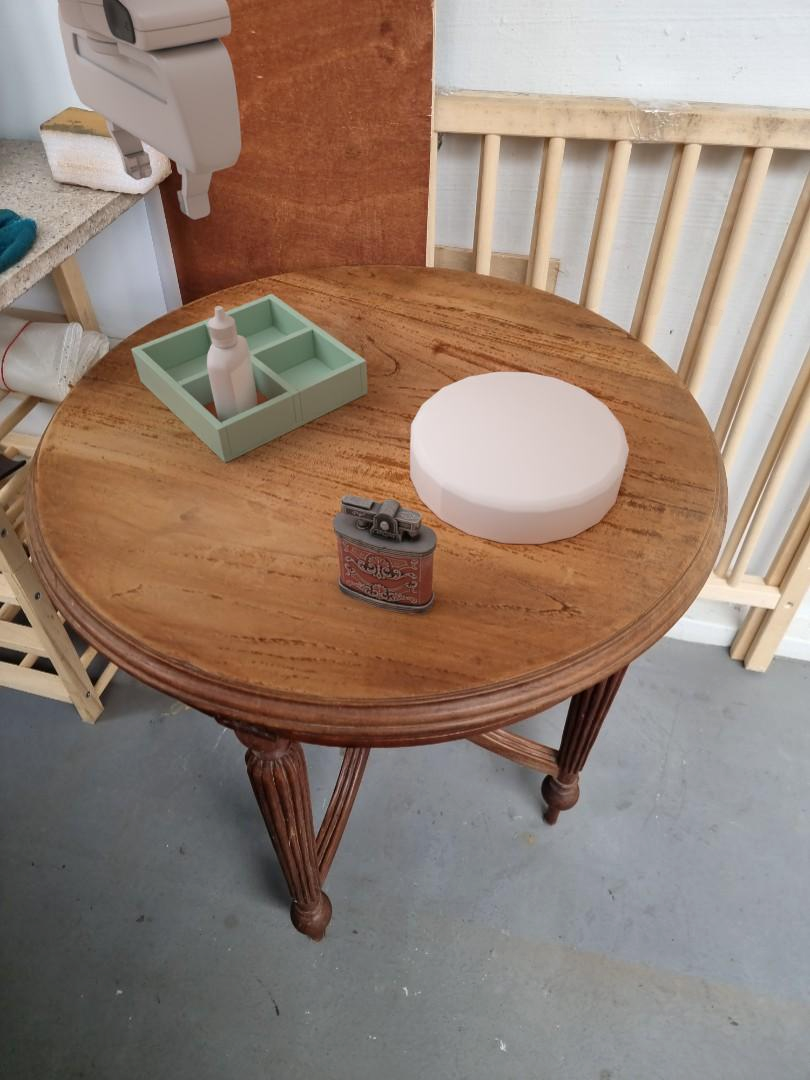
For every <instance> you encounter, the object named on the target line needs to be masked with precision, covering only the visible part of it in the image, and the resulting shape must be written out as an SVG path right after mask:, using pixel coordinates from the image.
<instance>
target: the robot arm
mask: <svg viewBox="0 0 810 1080" xmlns="http://www.w3.org/2000/svg"><path fill="white" fill-rule="evenodd" d="M57 16H58V23H59V30H60V34H61V39H62V45H63V49H64V54H65V58H66V64H67V67H68V72H69V76H70V79H71V84H72V86H73V89H74V92H75V93H76V95H77V97H78V99H79V101H80V103H81V104H82V105H84V106H86V107H87V108H89V109H90V110H92V111H93V112H95V113H97V114H98V115H100V116H102V117H103V118H104V121H105V125H106V128H107V130H108V132H109V135H110V136H111V137H110V138H111V139H112V141H113V142H114V145H115V147H116V149H117V151H118V153H119V154H120V159H121V163H122V166H123V167H122V168H123V170H124V172H125V174H126V175H127V176H129V177H131V178H132V179H133V180H135V181H140V180H142V179H147V178H150V177H151V176H152V175H153V167H152V165H151V159H150V154H149V153H148V152H146V151H145V149H144V146H143V144H142V142H143V143H144V144H146V145H148V146H149V147H151V148H152V149H154V150H156V151H157V152H159V153H160V154H162V155H163V156H165V157H167V158H168V159H170V160H171V161H173V162H175V165H176V170H177V173H178V174H179V175H181V190H177V191H176V194H177V199H178V203H179V208H180V211H181V213H183V214H184V215H186V216H187V217H189V219H191V220H194V221H195V220H198V219H201V218H206V217H207V216H209V215H210V213H211V205H210V200H209V199H210V198H209V194H208V192H209V189H210V185H211V182H212V176H213V173H214V172H215V173H216V172H219V171H221V170H225V169H229V168H231V167H233V166H235V165H236V164H237V162H238V159H239V157H240V155H241V151H242V131H241V120H240V112H239V110H240V109H239V102H238V93H237V87H236V79H235V73H234V68H233V64H232V59H231V56H230V54H229V52H228V49H227V47H226V46H225V44H224V43H223V41H222V40H221V39H220V38H223V37H227V36H229V35H230V34H231V32H232V22H231V21H232V20H231V13H230V7H229V4H228V2H227V0H57Z"/></svg>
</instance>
